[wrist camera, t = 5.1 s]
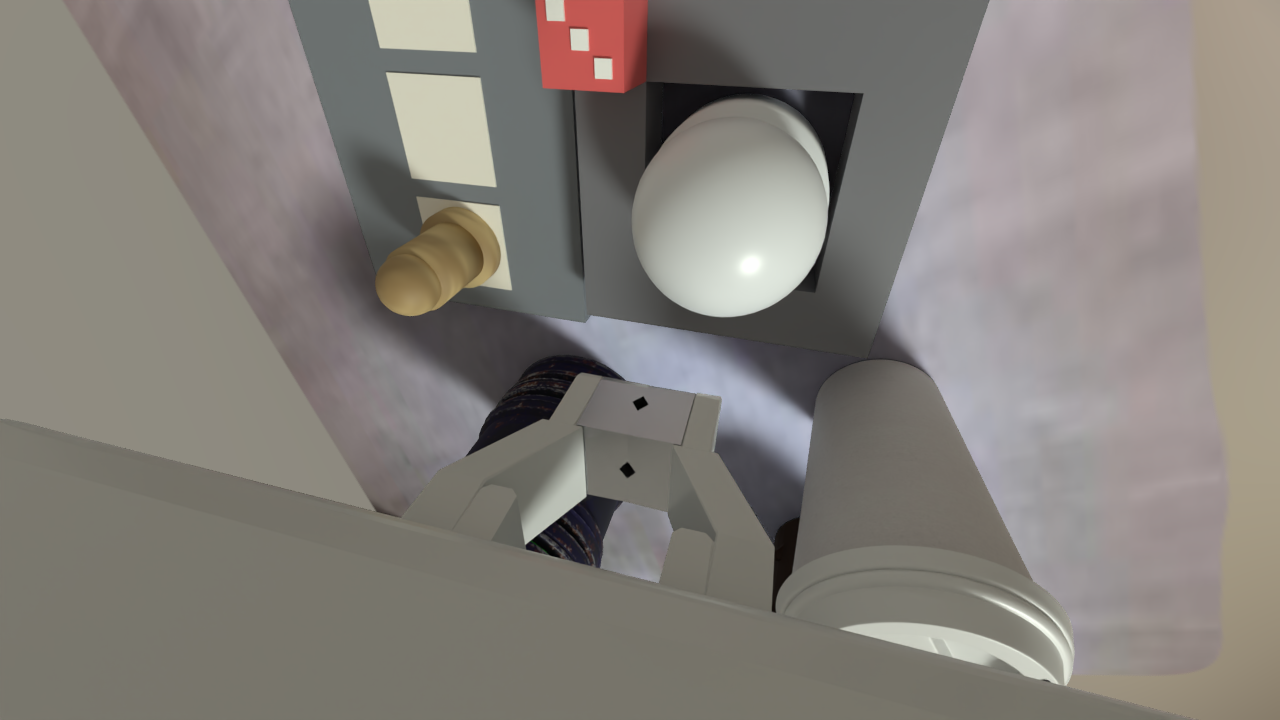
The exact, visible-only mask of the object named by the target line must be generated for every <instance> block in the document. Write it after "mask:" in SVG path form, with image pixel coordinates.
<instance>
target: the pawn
mask: <svg viewBox="0 0 1280 720" xmlns="http://www.w3.org/2000/svg"><path fill="white" fill-rule="evenodd" d="M500 260H501V251H500V246H499V243H498V240H497V238H496V235H495V234H494V232H493V230H492V229H491V228H490V226H489V225H488V224H487V223H486V222H485V221H484V220H483V219H482V218H481V217H480V216H478V215H477V214H475V213H474V212H472V211H470V210H467V209H464V208H460V207H448V208H445V209H442V210H441V211H439V212H437V213H435V214H434V215H432V216H430V217H429V218H428V219H427V220H426V221H425V222H424V223H423V225H422V227H421V231H420V235H419V236H417V237H415V238H414V239H412V240H410V241H409V242H407V243H406V244H404V245H402V246H401V247H399V248H397V249H396V250H394V251H393V252H391V253H390V254H389V255H388V257H387V259H386V262H384V263H383V264H382V266H381V267H380V268H379V270H378V272H377V275H376V279H375V287H376V292H377V295H378V297H379V298H380V300H381V302H382V303H383V304H384V305H385V306H386V307H387V308H389V309H390V310H391V311H393V312H395V313H398V314H401V315H405V316H417V315H421V314H424V313H426V312H428V311H432V310H436V309H438V308H440V307H441V306H442V305H444V304H445V303H446V302H447V301H448V300H450V299H451V298H452V297H453V296H454V295H455V294H457V293H458V292H459V291H460V290H461V289H463V288H474V287H477V286H480V285H481V284H483V283H484V282H485V281H486V280H488V279H489V278H490V277H491V276H492V275H493V274H494V273H495V272H496V271H497V269H498V267H499V265H500Z"/></svg>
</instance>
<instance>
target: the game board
mask: <svg viewBox="0 0 1280 720" xmlns="http://www.w3.org/2000/svg"><path fill="white" fill-rule="evenodd" d="M288 1H289V4H290V7H291V10H292V13H293V16H294V19H295V23H296V26H297V29H298V32H299V35H300V38H301V41H302V45H303V48H304V51H305V54H306V57H307V60H308V63H309V67H310V70H311V73H312V76H313V79H314V82H315V85H316V88H317V92H318V95H319V98H320V101H321V104H322V107H323V110H324V114H325V117H326V120H327V123H328V126H329V129H330V132H331V136H332V139H333V142H334V145H335V148H336V151H337V154H338V158H339V161H340V164H341V167H342V170H343V173H344V176H345V179H346V183H347V186H348V189H349V192H350V195H351V198H352V201H353V205H354V208H355V211H356V214H357V217H358V220H359V223H360V227H361V230H362V233H363V236H364V239H365V242H366V245H367V249H368V252H369V255H370V258H371V261H372V264H373V267H374V270H375V274H376V275H377V272H378V270H379V268H380V267H381V266H382V264H383V263H384V262H386V259H387V257H388V255H389V254H390V253H391V252H393V251H394V250H396V249H397V248H399V247H401V246H402V245H404V244H406V243H407V242H409V241H410V240H412V239H414V238H415V237H417V236H419V235H420V231H421V227H422V225H423V223H424V222H425V221H426V220H427V219H428V218H429V217H430V216H432V215H434V214H435V213H437V212H439V211H441V210H442V209H445V208H448V207H460V208H464V209H467V210H470V211H472V212H474V213H475V214H477V215H478V216H480V217H481V218H482V219H483V220H484V221H485V222H486V223H487V224H488V225H489V226H490V228H491V229H492V230H493V232H494V234H495V235H496V238H497V240H498V243H499V246H500V251H501V260H500V265H499V267H498V269H497V271H496V272H495V273H494V274H493V275H492V276H491V277H490V278H489V279H488V280H486V281H485V282H484V283H483V284H481V285H480V286H477V287H474V288H463V289H461V290H460V291H459V292H458V293H457V294H455V295H454V296H453V297H452V298H451V299H450V300H448V301H452V302H458V303H464V304H471V305H477V306H483V307H489V308H496V309H502V310H508V311H514V312H520V313H527V314H533V315H539V316H545V317H552V318H558V319H564V320H570V321H576V322H583V323H586V321H587V320H588V318H589V317H590V315H587V309H586V291H585V273H584V254H583V236H582V217H581V199H580V181H579V162H578V144H577V125H576V107H575V90H565V89H549V88H543V85H542V73H541V62H540V50H539V39H538V27H537V16H536V4H535V0H288Z"/></svg>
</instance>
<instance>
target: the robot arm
mask: <svg viewBox="0 0 1280 720" xmlns="http://www.w3.org/2000/svg"><path fill="white" fill-rule="evenodd" d="M721 402H722V398H721V397H720V396H714V395H707V394H700V393H697V394H695V393H689V392H683V391H677V390H672V389H666V388H660V387H654V386H650V385H645V384H640V383H634V382H629V381H624V380H619V379H614V378H609V377H602V376H598V375H592V374H587V373H580V374H579V375H577V376H576V378H575V379H574V381H573V383H572V384H571V386H570V387H569V389H568V391H567V392H566V394H565V395H564V397H563V399H562V400H561V402H560V404H559V405H558V407H557V408H556V410H555V412H554V413H553V415H552V416H551V418H550V420H545V419H542V420H540V421H538V422H536V423H533V424H531V425H529V426H527V427H525V428H523V429H521V430H519V431H517V432H515V433H513V434H511V435H509V436H507V437H505V438H503V439H501V440H499V441H497V442H495V443H493V444H491V445H489V446H487V447H485V448H483V449H481V450H479V451H477V452H475V453H473V454H470V455H468V456H466V457H464V458H462V459H460V460H458V461H456V462H454V463H452V464H450V465H448V466H446V467H444V468H442V469H440V470H439V471H438V472H437V473H436V474H435V476H434V477H433V478H432V479H431V481H430V482H429V483H428V485H427V486H426V487H425V488H424V490H423V491H422V492H421V493H420V495H419V496H418V497H417V498H416V500H415V501H414V502H413V503H412V505H411V506H410V507H409V508H408V510H407V511H406V512H405V513H404V515H403V516H402V517H401V518H399V517H395V516H391V515H387V514H383V513H379V512H375V511H371V510H367V509H363V508H359V507H355V506H351V505H347V504H343V503H339V502H335V501H331V500H327V499H323V498H319V497H315V496H311V495H307V494H304V493H300V492H295V491H292V490H287V489H283V488H280V487H275V486H272V485H268V484H264V483H259V482H256V481H252V480H248V479H244V478H240V477H236V476H232V475H228V474H224V473H220V472H216V471H213V470H209V469H204V468H201V467H196V466H193V465H188V464H184V463H181V462H177V461H173V460H169V459H165V458H161V457H157V456H153V455H149V454H145V453H141V452H137V451H133V450H130V449H126V448H121V447H118V446H114V445H110V444H106V443H102V442H98V441H94V440H90V439H86V438H82V437H78V436H74V435H71V434H67V433H63V432H58V431H55V430H51V429H47V428H43V427H40V426H36V425H32V424H28V423H24V422H19V421H14V420H9V419H0V720H1197V719H1193V718H1189V717H1185V716H1181V715H1177V714H1173V713H1169V712H1165V711H1161V710H1157V709H1153V708H1150V707H1145V706H1142V705H1137V704H1134V703H1129V702H1126V701H1122V700H1118V699H1114V698H1110V697H1106V696H1102V695H1098V694H1094V693H1090V692H1086V691H1082V690H1078V689H1075V688H1070V687H1067V686H1063V685H1059V684H1055V683H1051V682H1047V681H1043V680H1039V679H1035V678H1031V677H1027V676H1023V675H1019V674H1015V673H1011V672H1007V671H1003V670H999V669H996V668H992V667H988V666H984V665H980V664H976V663H972V662H968V661H964V660H960V659H956V658H952V657H948V656H944V655H940V654H936V653H932V652H928V651H924V650H921V649H917V648H913V647H909V646H905V645H901V644H897V643H893V642H889V641H885V640H881V639H877V638H873V637H869V636H865V635H861V634H857V633H853V632H849V631H845V630H841V629H838V628H834V627H830V626H826V625H822V624H818V623H814V622H810V621H806V620H802V619H798V618H794V617H790V616H786V615H782V614H778V613H774V612H772V592H773V572H774V552H775V547H774V545H773V544H772V542H771V540H770V539H769V537H768V535H767V534H766V532H765V530H764V529H763V527H762V525H761V524H760V522H759V520H758V519H757V517H756V515H755V514H754V512H753V510H752V509H751V507H750V505H749V504H748V502H747V501H746V499H745V497H744V496H743V494H742V492H741V491H740V489H739V487H738V486H737V484H736V482H735V481H734V479H733V477H732V476H731V474H730V472H729V471H728V469H727V467H726V466H725V464H724V462H723V461H722V459H721V457H720V456H719V454H718V453H714V450H715V444H716V437H717V430H718V423H719V416H720V410H721ZM586 494H589V495H594V496H599V497H604V498H609V499H614V500H620V501H625V502H629V503H633V504H637V505H641V506H645V507H649V508H653V509H657V510H661V511H665V512H668V517H669V519H670V522H671V525H672V528H673V531H674V532H673V533H672V536H671V540H670V544H669V548H668V551H667V555H666V559H665V562H664V566H663V570H662V574H661V577H660V581H659V583H656V582H652V581H648V580H644V579H640V578H636V577H632V576H628V575H624V574H620V573H616V572H612V571H608V570H604V569H600V568H596V567H592V566H588V565H584V564H580V563H577V562H573V561H569V560H565V559H561V558H557V557H553V556H549V555H545V554H541V553H537V552H533V551H529V550H526V546H525V545H526V544H527V543H528V542H529V541H531V540H532V539H533V538H534V537H536V536H537V535H538V534H540V533H541V532H542V531H543V530H545V529H546V528H547V527H548V526H550V525H551V524H552V523H554V522H555V521H556V520H557V519H559V518H560V517H561V516H562V515H564V514H565V513H566V512H567V511H569V510H570V509H571V508H573V507H574V506H575V505H576V504H578V503H579V502H580V501H581V500H583V499H584V498H585V497H587V496H586Z"/></svg>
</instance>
